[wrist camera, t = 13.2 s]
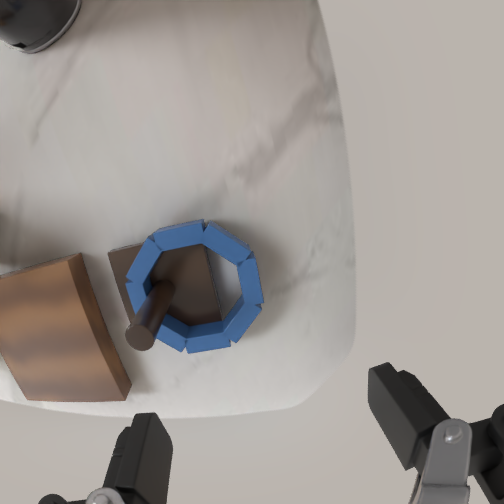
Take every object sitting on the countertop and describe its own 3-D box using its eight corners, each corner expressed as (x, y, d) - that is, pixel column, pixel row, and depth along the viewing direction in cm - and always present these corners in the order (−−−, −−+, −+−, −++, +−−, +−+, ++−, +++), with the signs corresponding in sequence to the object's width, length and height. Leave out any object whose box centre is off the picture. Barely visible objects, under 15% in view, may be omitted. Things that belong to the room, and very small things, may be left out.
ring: (122, 236, 25) (113, 242, 23) (245, 210, 26) (247, 213, 23) (156, 345, 28) (151, 358, 26) (267, 326, 28) (270, 339, 26)
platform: (-13, 279, 26) (-27, 286, 23) (81, 252, 26) (67, 260, 24) (36, 387, 30) (27, 400, 27) (131, 384, 30) (125, 400, 27)
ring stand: (111, 250, 27) (60, 285, 17) (201, 229, 27) (186, 258, 17) (139, 333, 29) (108, 394, 19) (223, 318, 29) (222, 382, 19)
